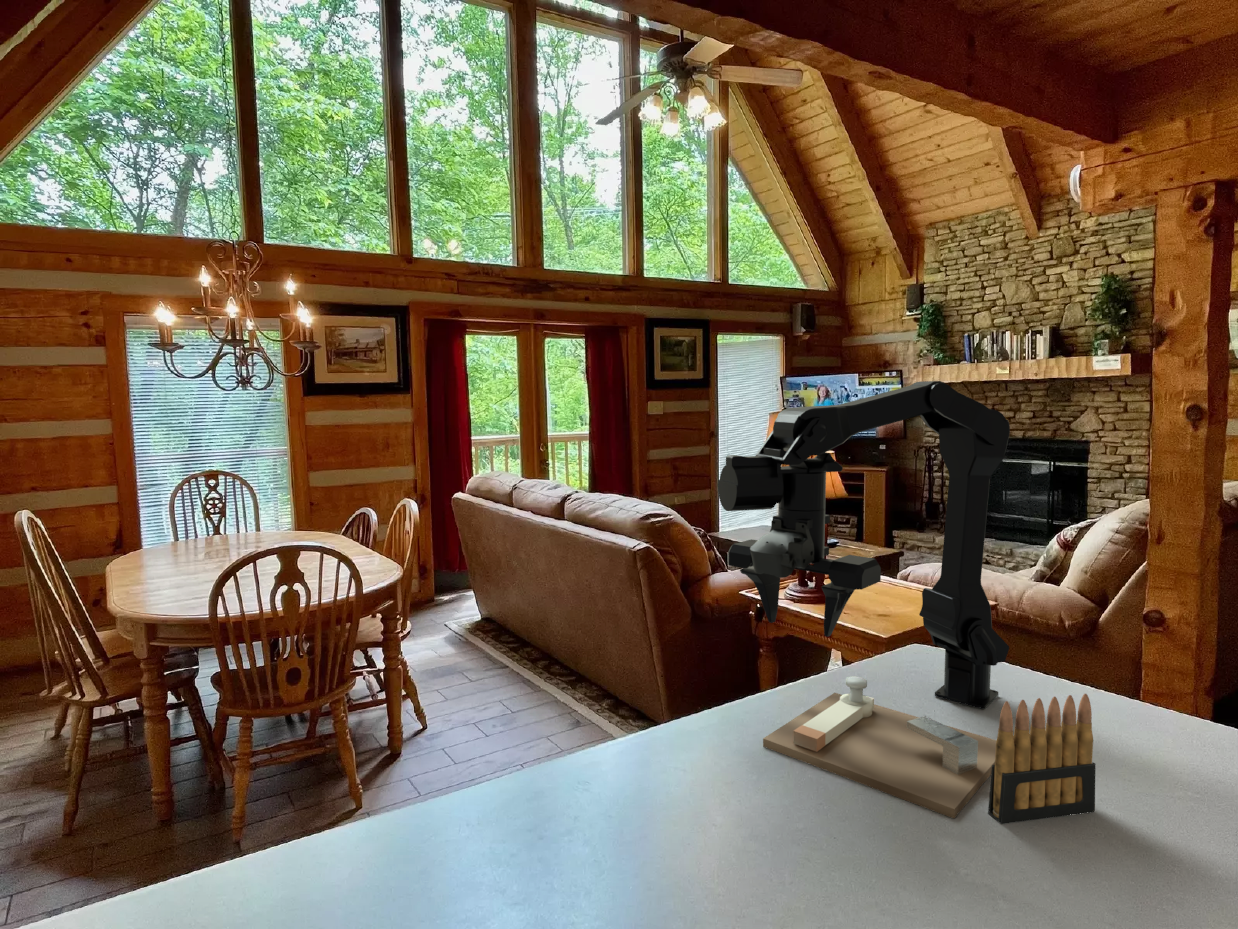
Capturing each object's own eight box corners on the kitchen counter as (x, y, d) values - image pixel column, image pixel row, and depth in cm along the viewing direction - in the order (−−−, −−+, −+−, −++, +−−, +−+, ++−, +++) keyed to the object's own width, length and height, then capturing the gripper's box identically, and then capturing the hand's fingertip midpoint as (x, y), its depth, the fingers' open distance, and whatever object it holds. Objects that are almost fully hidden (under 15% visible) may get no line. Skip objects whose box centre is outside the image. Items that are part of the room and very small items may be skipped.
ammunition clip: (1080, 802, 74) (1086, 689, 73) (1095, 812, 72) (1101, 696, 71) (987, 813, 72) (991, 698, 71) (1000, 824, 70) (1004, 706, 69)
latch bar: (848, 702, 96) (849, 672, 96) (877, 711, 93) (878, 679, 93) (789, 742, 85) (789, 708, 85) (820, 753, 82) (821, 718, 82)
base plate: (834, 699, 100) (834, 692, 99) (1009, 752, 84) (1009, 744, 84) (763, 746, 87) (763, 738, 86) (954, 818, 71) (954, 809, 71)
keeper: (924, 741, 85) (925, 715, 85) (977, 768, 79) (978, 741, 79) (906, 746, 84) (906, 721, 84) (958, 774, 78) (959, 747, 77)
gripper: (703, 507, 91) (702, 627, 93) (841, 524, 78) (837, 664, 80) (752, 498, 99) (750, 609, 101) (884, 512, 86) (880, 639, 88)
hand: (799, 628), depth 92 cm, fingers open, 8 cm apart
